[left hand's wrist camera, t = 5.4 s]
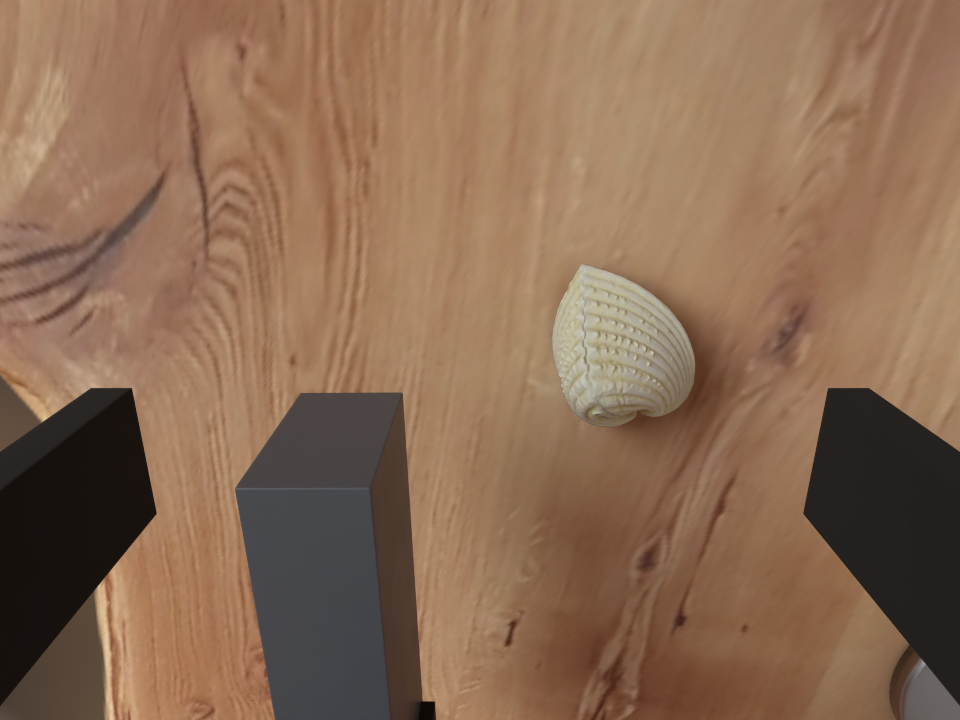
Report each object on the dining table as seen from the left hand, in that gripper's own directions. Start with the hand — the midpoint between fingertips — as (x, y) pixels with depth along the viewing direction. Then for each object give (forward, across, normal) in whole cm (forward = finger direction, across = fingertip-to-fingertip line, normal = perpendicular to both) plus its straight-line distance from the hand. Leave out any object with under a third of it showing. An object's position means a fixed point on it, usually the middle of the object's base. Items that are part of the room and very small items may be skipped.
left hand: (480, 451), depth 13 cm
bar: (+16, -6, -17) cm, 24 cm away
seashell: (+27, +8, -7) cm, 29 cm away
